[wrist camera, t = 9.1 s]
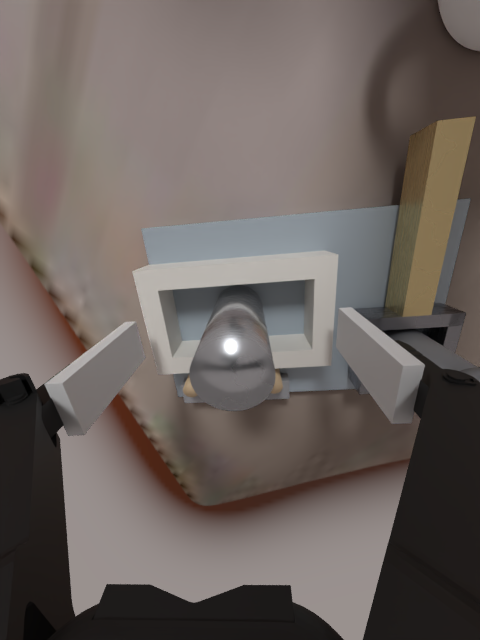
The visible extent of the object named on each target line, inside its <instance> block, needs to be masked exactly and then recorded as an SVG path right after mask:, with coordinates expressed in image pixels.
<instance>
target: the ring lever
mask: <svg viewBox="0 0 480 640" xmlns="http://www.w3.org/2000/svg"><path fill="white" fill-rule="evenodd" d="M475 119H476V116H475V117H466V118H457V119H448V120H439V121H436V122H434V123H433V124H431V125H429V126H427V127H425V128H424V129H422V130H420V131H418V132H417V133H415V134H413V135H411V136H410V140H409V146H408V153H407V160H406V167H405V174H404V180H403V187H402V194H401V201H400V208H399V214H398V221H397V228H396V235H395V242H394V248H393V255H392V262H391V269H390V276H389V282H388V289H387V296H386V303H385V307H371V308H356V309H355V310H356V311H357V312H358V313H359V314H361V315H362V316H363V317H364V318H366V319H367V320H368V321H370V322H371V323H372V324H373V325H375V326H376V327H377V328H378V329H380V330H381V331H383V330H399V329H416V328H423V330H422V333H423V334H424V335H426V336H428V337H429V338H431V339H432V340H434V341H436V342H437V343H439V344H441V345H442V346H444V347H446V348H447V349H449V350H450V351H452V352H454V353H455V351H456V347H457V344H458V340H459V337H460V333H461V330H462V326H463V323H464V319H465V316H466V313H465V312H463V311H460V310H458V309H455V308H453V307H450V306H448V305H445V304H442V303H434V301H435V296H436V292H437V287H438V283H439V279H440V274H441V270H442V265H443V261H444V256H445V252H446V248H447V243H448V239H449V234H450V230H451V225H452V221H453V216H454V212H455V208H456V203H457V199H458V194H459V190H460V185H461V181H462V177H463V172H464V168H465V163H466V159H467V154H468V150H469V145H470V141H471V137H472V132H473V128H474V123H475ZM348 378H349V379H350V381H351V382H352V384H353V385H354V387H355V388H356V390H357V391H358V393H359V394H370V393H369V392H368V391H367V389H366V388H365V386H364V385H363V384H362V382H361V381H360V380H359V378H358V377H357V375H356V374H355V373H354V371H353V370H352V368H351V367H350V366H349V375H348Z"/></svg>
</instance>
